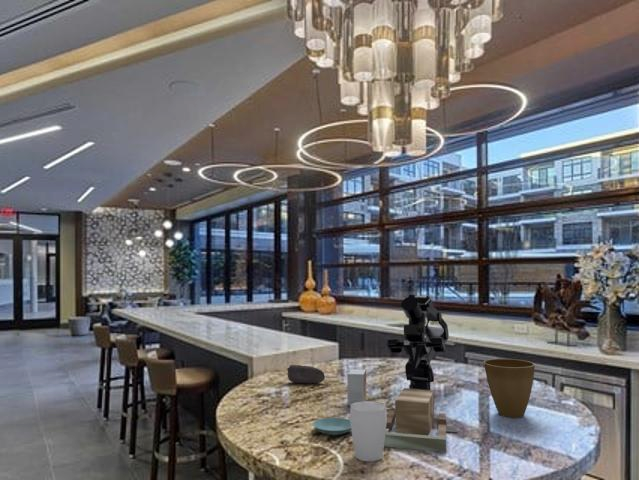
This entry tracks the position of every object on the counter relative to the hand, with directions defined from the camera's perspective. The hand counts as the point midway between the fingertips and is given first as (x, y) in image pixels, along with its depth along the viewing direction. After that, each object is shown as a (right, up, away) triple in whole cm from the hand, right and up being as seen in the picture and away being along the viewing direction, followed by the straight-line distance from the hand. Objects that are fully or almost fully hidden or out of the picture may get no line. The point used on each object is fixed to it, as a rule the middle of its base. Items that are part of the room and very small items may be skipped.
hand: (414, 368), depth 155 cm
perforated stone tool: (-36, -16, +35) cm, 53 cm away
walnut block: (-3, -12, -17) cm, 21 cm away
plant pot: (+29, -13, -7) cm, 32 cm away
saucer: (-27, -13, -21) cm, 36 cm away
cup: (-19, -11, -39) cm, 45 cm away
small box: (-18, -14, +7) cm, 24 cm away
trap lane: (-4, -12, -21) cm, 25 cm away
